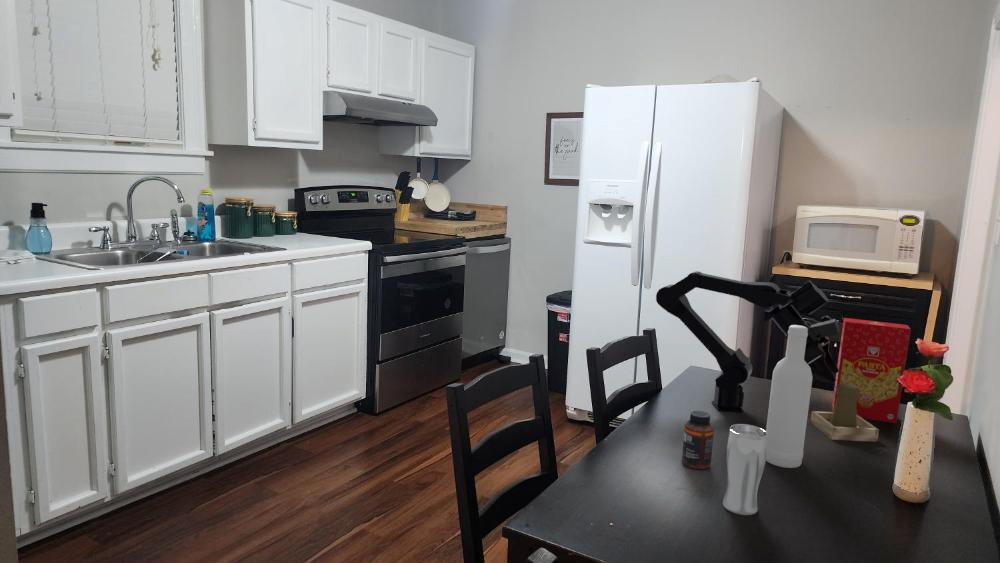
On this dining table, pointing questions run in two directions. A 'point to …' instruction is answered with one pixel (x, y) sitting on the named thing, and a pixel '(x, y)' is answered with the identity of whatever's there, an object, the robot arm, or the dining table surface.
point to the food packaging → (873, 366)
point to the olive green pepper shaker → (845, 406)
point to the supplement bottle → (698, 441)
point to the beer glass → (744, 467)
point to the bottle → (789, 403)
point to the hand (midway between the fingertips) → (835, 376)
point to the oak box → (844, 428)
